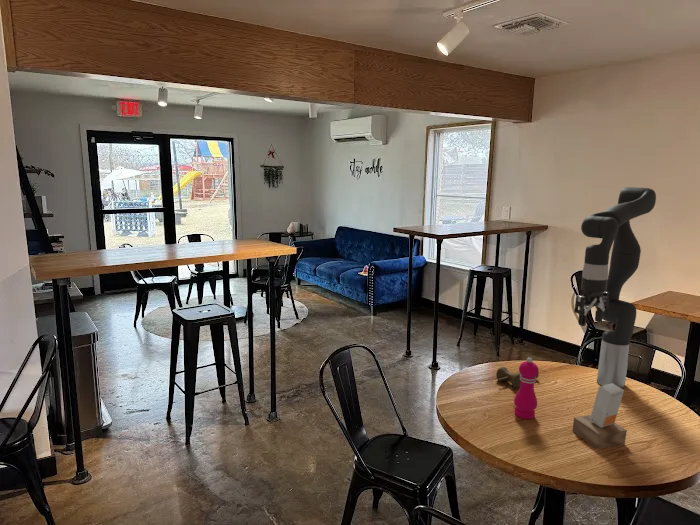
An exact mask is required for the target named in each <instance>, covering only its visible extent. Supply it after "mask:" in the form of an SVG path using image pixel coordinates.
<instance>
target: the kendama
mask: <svg viewBox="0 0 700 525" xmlns="http://www.w3.org/2000/svg"><path fill="white" fill-rule="evenodd" d="M520 375H521V373H520V372H518V373H511V372H510V371H509V369H508V368H506V367H505V366H501V367H499V368H497V371H496V375H495V376H496V379H497V381H501V382H502V381H503V382H504V381H506V382H509V383H511V385H512V387H513V388H514V389H515V390H519V389H520V386H521V380H520ZM538 378H539V372H538V375H537V376H536V380H537V379H538Z"/></svg>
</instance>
